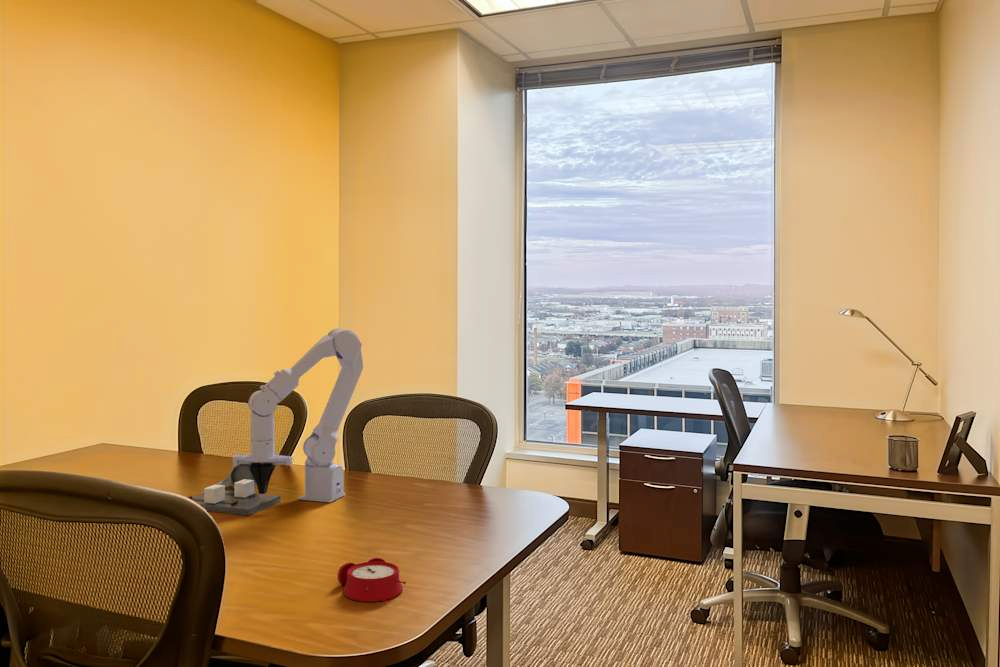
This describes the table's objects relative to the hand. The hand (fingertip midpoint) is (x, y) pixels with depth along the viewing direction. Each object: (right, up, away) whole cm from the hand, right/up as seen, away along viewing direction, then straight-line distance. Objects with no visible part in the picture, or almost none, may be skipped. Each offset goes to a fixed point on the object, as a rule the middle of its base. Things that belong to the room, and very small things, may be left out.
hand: (263, 492), depth 197 cm
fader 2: (-5, -1, +2) cm, 6 cm away
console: (-8, -3, -1) cm, 8 cm away
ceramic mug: (-11, -2, +16) cm, 20 cm away
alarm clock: (+36, -7, -54) cm, 66 cm away
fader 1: (-11, -1, -4) cm, 11 cm away
